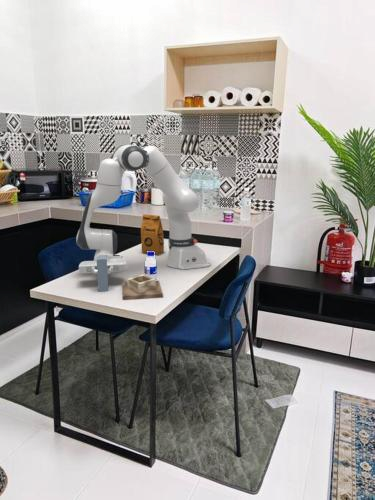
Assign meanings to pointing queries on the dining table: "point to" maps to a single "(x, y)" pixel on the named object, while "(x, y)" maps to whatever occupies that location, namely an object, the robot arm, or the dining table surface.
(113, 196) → the robot arm
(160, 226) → the coffee package
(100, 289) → the slate peg
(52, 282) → the dining table surface
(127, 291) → the socket board
